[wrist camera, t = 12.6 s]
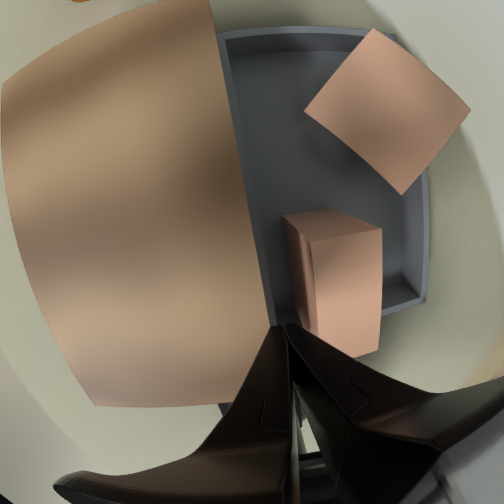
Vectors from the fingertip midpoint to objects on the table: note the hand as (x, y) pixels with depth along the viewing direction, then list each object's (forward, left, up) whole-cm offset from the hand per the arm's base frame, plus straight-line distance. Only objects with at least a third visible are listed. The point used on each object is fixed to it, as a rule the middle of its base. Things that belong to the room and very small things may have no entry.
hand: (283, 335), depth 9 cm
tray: (+5, -5, -8) cm, 10 cm away
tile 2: (+8, -7, -3) cm, 11 cm away
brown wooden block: (+5, +5, -8) cm, 11 cm away
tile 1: (0, -2, -5) cm, 5 cm away
